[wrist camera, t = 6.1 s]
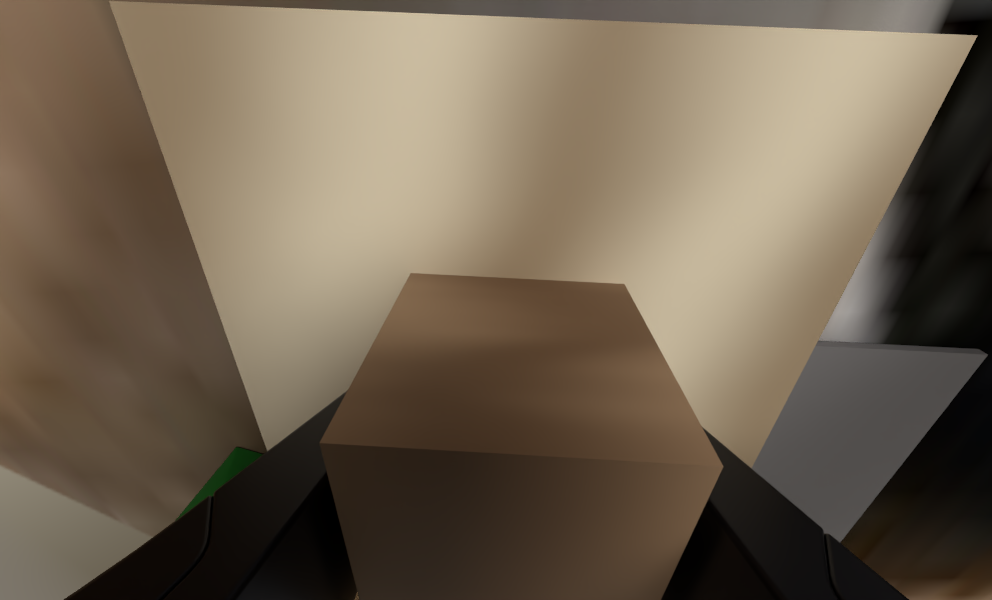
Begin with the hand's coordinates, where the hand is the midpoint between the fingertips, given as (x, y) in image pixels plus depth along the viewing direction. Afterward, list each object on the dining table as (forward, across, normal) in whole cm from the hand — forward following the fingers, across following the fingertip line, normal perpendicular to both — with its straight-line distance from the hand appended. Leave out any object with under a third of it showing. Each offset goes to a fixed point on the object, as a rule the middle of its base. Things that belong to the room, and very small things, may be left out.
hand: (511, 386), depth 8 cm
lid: (+2, 0, 0) cm, 2 cm away
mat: (+8, -13, +11) cm, 19 cm away
